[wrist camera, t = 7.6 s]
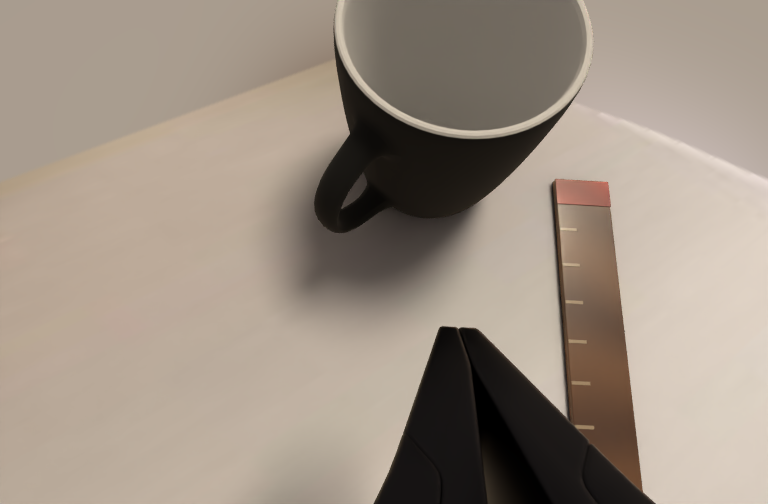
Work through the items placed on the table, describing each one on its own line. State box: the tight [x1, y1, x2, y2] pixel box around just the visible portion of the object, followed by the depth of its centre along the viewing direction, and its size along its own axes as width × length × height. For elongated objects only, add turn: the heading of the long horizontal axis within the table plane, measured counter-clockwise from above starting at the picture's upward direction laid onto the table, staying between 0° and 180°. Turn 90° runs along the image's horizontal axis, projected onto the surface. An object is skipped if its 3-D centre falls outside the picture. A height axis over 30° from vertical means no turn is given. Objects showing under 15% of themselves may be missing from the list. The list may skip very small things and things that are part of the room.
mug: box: [314, 0, 593, 233], centre depth 18 cm, size 12×9×10 cm
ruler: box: [553, 179, 643, 492], centre depth 21 cm, size 16×3×1 cm, turn 177°
